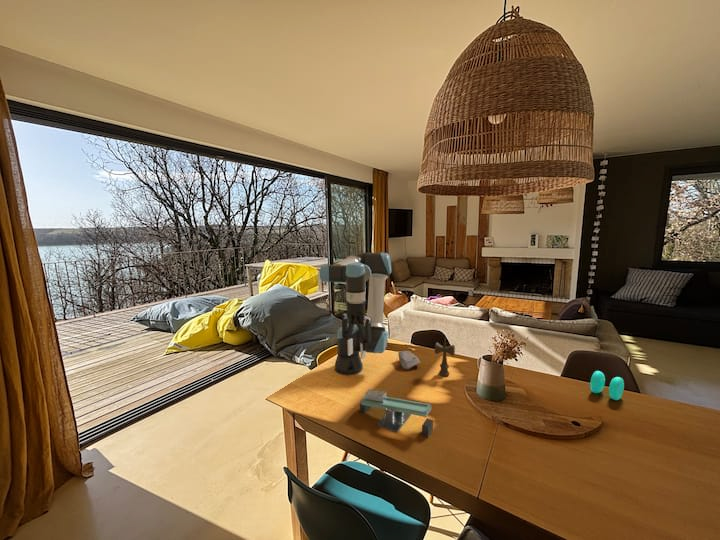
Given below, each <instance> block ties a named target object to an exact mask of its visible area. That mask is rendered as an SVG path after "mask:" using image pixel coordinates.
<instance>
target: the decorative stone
mask: <svg viewBox="0 0 720 540" xmlns="http://www.w3.org/2000/svg"><path fill="white" fill-rule="evenodd" d="M397 353H398V359H399V362H400V365H401V367H402V368H403V370H411V369H412V368H414V367H416V366H417V365H420V364H421V361H420V360H419V358H418V357H417V356H416V355H415V354H414V353H412V352H411V351H409V350H403V351H401V350H399V351H398V352H397Z"/></svg>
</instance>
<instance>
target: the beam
mask: <svg viewBox="0 0 720 540" xmlns="http://www.w3.org/2000/svg"><path fill="white" fill-rule="evenodd" d="M360 403H361V405H366V406H371V408H377V409H381V410H382V409H383V410H386V408H389V409H392V410H394V411H397V412H402V413H407V414H411V415H413V416H418V417H424V418H427V416H428V415H429V413H430V412H431V410H432V409H433V408H432V407H433V406H432V403H426V402H425V403H424V402H419V401H415V400H414V401H413V400H407V399H403V400H402V398H400V399H396V397H389V396H387V401H386V402H385V403H384V404H383V403H378V402H372V401H367V400H366V395H365V396H363V398H361V400H360Z"/></svg>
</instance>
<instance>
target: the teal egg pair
mask: <svg viewBox="0 0 720 540" xmlns="http://www.w3.org/2000/svg"><path fill="white" fill-rule="evenodd" d="M605 383H606V376H605V374H604V373H603V372H602V371H600V370H595V371H594V372H593V374H592V375H591V378H590V386H589V387H590V390H591V392H592V393H594V394H600V393H601V392H602V391H603V390H604V387H605ZM624 389H625V381H624V379H623V377H620V376H615V377H613V378H612V379H611V381H610V383H609V387H608V394H609V397H610V398H611V399H612V400H614V401H620V399H621V398H622V396H623V393H624Z"/></svg>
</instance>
